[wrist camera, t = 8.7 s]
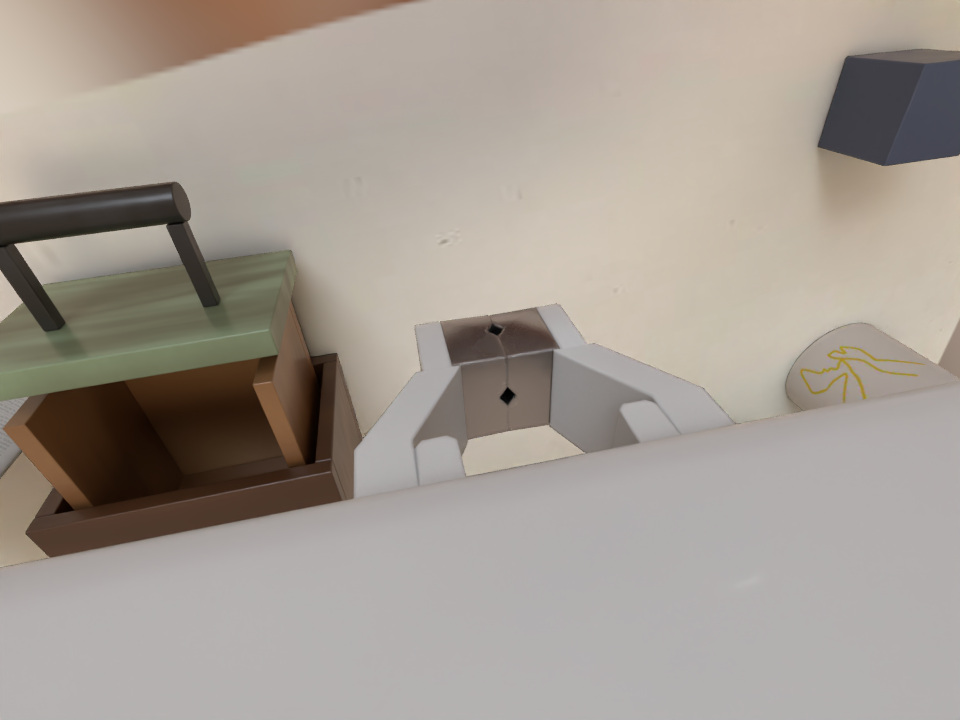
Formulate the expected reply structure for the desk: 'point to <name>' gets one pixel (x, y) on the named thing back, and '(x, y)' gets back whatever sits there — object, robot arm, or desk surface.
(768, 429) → the robot arm
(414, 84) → the desk surface
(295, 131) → the desk surface
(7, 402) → the cosmetics box
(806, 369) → the white solid cylinder
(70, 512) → the cabinet
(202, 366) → the drawer
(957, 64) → the block
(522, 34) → the desk surface
